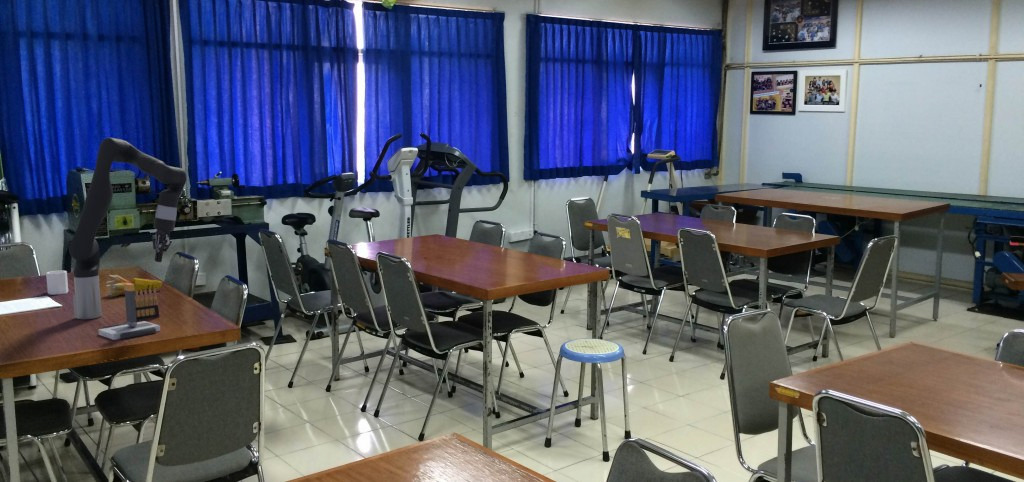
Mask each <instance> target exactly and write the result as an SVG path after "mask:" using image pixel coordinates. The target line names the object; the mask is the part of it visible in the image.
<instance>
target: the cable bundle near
mask: <svg viewBox="0 0 1024 482" xmlns="http://www.w3.org/2000/svg"><path fill="white" fill-rule="evenodd" d="M156 332H157V331H156V329H155V327H152V328H147V329H142V330H137V331H131V332H126V333H122V334H121V335H120V337H121V339H122V340H127V339H131V338H135V337H141V336H146V335H151V334H156Z"/></svg>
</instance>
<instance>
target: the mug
mask: <svg viewBox="0 0 1024 482" xmlns="http://www.w3.org/2000/svg"><path fill="white" fill-rule="evenodd" d="M45 274H46V275H45V276H46V287H47V295H54V296H55V295H62V294H68V293H69V284H68V283H69V282H68V271H67V270H63V269H62V270H52V271H51V270H50V271H47V272H46V273H45Z"/></svg>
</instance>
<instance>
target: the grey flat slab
mask: <svg viewBox="0 0 1024 482" xmlns="http://www.w3.org/2000/svg"><path fill="white" fill-rule="evenodd" d="M136 322H137V326H136V327H131V326H128V325H127V324H126V325H121V326H115V327H110V328H104V329H102V328H99V329H98V335H99V336H101V337H105V338H107V339H110V340H113V341H115V340H120V339H121V337H120V335H121V334H122V333H126V332H131V331H137V330H142V329H147V328H152V327H155V329H156V332H160V331H161V325H159V324H155V323H152V322H149V321H145V320H142V321H136Z"/></svg>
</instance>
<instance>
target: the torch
mask: <svg viewBox="0 0 1024 482" xmlns="http://www.w3.org/2000/svg"><path fill="white" fill-rule="evenodd" d="M109 276H110V277H111V278H113V279H114V280H113V279H112V280H110V281H107V282H105V284H107V285H105V287H110V289H108V291H107V292H106V294H108V295H109V294H110V296H109V297H110V298H111V297H118V296H120V295H121V296H122V295H125V290H124V284H125V283H131V284H134V288H135V291H134V293H136V290H137V292H138V294H140V290H142V292H144V291H145V289H146V291H147V292H149V289H151V291H154V288H155V290H158V289H160V288H162V287H163V281H160V280H158V279H157V280H155V279H145V278H140V277H139V278H138V277H137V278H136V277H132V279H131V280H128V279H126V278H124V277H122V276H120V275H118V274H109Z"/></svg>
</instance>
